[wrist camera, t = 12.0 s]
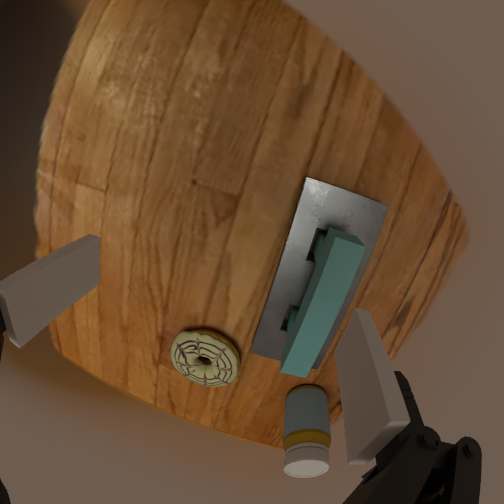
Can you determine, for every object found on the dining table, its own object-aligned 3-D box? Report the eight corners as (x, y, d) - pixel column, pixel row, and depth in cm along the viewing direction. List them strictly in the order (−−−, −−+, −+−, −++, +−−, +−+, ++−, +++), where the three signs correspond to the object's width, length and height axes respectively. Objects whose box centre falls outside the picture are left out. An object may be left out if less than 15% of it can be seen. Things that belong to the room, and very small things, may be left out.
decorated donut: (172, 320, 41) (162, 332, 37) (240, 327, 39) (236, 341, 36) (181, 370, 44) (173, 384, 40) (242, 378, 42) (238, 394, 39)
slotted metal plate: (305, 176, 32) (306, 177, 29) (380, 202, 31) (388, 206, 28) (252, 340, 39) (249, 352, 37) (316, 356, 39) (317, 369, 36)
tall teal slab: (322, 216, 33) (335, 236, 23) (345, 224, 33) (365, 246, 23) (283, 325, 38) (280, 372, 29) (303, 330, 38) (305, 378, 28)
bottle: (335, 392, 41) (343, 464, 27) (309, 413, 43) (309, 482, 29) (303, 377, 41) (303, 453, 26) (278, 399, 43) (270, 471, 29)
